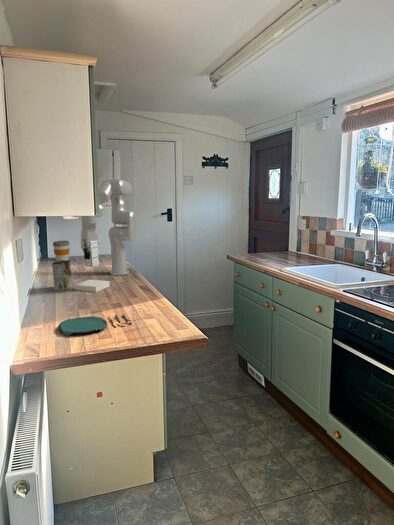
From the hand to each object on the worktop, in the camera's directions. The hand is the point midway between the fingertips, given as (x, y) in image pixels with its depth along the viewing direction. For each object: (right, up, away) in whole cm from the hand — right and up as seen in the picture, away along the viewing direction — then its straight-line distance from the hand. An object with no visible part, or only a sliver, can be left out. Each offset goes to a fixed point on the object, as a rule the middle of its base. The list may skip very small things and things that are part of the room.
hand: (90, 257), depth 237 cm
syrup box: (+1, -5, +1) cm, 5 cm away
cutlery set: (+18, -30, -61) cm, 71 cm away
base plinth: (0, -18, +3) cm, 18 cm away
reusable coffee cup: (-47, -1, +95) cm, 106 cm away
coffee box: (-17, -18, +3) cm, 25 cm away
